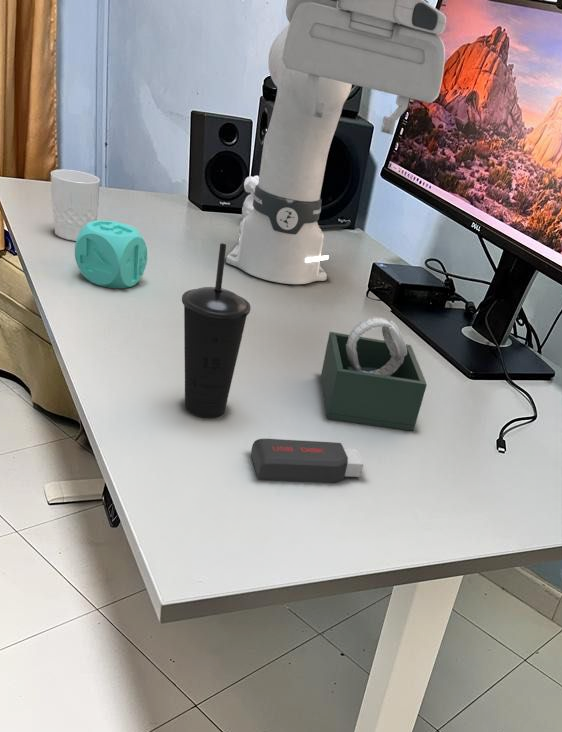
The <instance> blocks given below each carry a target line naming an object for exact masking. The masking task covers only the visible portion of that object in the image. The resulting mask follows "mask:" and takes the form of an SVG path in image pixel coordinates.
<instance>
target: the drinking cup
mask: <svg viewBox="0 0 562 732" xmlns="http://www.w3.org/2000/svg"><path fill="white" fill-rule="evenodd" d="M226 252H227V244H226V243H222V242H221V243H220V244H219V250H218V258H217V260H218V261H217V270H216V277H215V286H203V287H199V288H193V289H189V290H187V291H185V292H184V293H183V294H182V296H181V303H182V304H183V312H184V313H183V316H184V317H183V321H184V322H183V324H184V325H183V327H184V329H183V331H184V336H183V338H184V339H183V340H184V408H185V410H186V411H187V412H188V413H189V414H191V415H194V416H196V417H198V418H199V417H200V418H205V419H208V418H209V419H214V418H215V419H216V418H219V417H221V416H223V415H224V413H225V412H226V408H227V404H228V398H229V394H230V390H231V385H232V381H233V379H234V378H233V377H234V374H235V368H236V364H237V360H238V356H239V351H240V347H241V343H242V338H243V334H244V330H245V326H246V321H247V317H248V315H250V313H251V310H252V309H251V307H252V306H251V304H250V302H249V301H248V300H247V299H245V298H243V297H242V296H240V295H238V294H236V293H235V292H234V291H231V290H229V289H225V288H222V287H223V277H224V270H225V262H226V254H227V253H226Z"/></svg>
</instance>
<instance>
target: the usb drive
mask: <svg viewBox="0 0 562 732" xmlns="http://www.w3.org/2000/svg"><path fill="white" fill-rule="evenodd" d="M250 456H251V459H252V464H253V466H254V470H255V474H256V479H257V480H260V481H286V482H287V481H288V482H309V483H310V482H311V483H312V482H313V483H338V482H341V481H345V477H349V478H350V477H354V478H355V477H356V478H361V476H362V471H363V468H364V461H363V460H362V458H361V455H360V453H359V451H358V449H356V448H344V446H343V444H342V443H341V442H333V441H332V442H331V441H318V440H317V441H316V440H300V439H299V440H296V439H280V438H279V439H278V438H257V439H256V440H254V441H253V443H252V446H251V450H250Z"/></svg>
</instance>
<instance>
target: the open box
mask: <svg viewBox="0 0 562 732" xmlns="http://www.w3.org/2000/svg"><path fill="white" fill-rule="evenodd" d="M349 335H350V334H347V333H340V332H334V331H329V334H328V339H327V344H326V348H325V353H324V359H323V362H322V363H323V364H322V368H321V373H320V382H321V388H322V394H323V401H324V408H325V414H326V419H327V420H333V421H341V422H348V423H354V424H362V425H368V426H375V427H382V428H390V429H397V430H402V431H403V430H405V431H411V432H414V430H415V427H416V424H417V420H418V417H419V413H420V410H421V406H422V402H423V399H424V396H425V394H426V393H425V392H426V389H427V386H428V384H427V381H426V378H425V376H424V373H423V371H422V369H421V366H420V364H419V362H418V361H419V360H418V359H417V357H416V354H415V352H414V349H413V346H412V345H411V344H407V343H405V344H406V347H407V355H406V356H404V361H403V363H402V364H401V365H400V367H399V368H398V369H397V370H396V371H395V372H394V373H393V374H392V375H390V376H384V375H378V374H371V373H365V372H359V371H352V370H346V369H347V367H352V366H351V364H350V362H349V359H348V356H347V351H346V344H347V341H348V337H349ZM356 345H357V348H356V351H357V356H358V362H359V365H360V367H365V368H376V369H380V368H381V367H383V366H384V365H386V363H387V362H388V361H389V360H390V359H391V357H392V356H391V355H390V351H389V349H388V347H387V345H386V343H385V340H384V339H376V338H370V337H364V336H361V337H360V338H359V340H358V341H357V343H356ZM390 361H391V360H390Z"/></svg>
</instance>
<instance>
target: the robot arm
mask: <svg viewBox="0 0 562 732" xmlns="http://www.w3.org/2000/svg"><path fill="white" fill-rule="evenodd" d="M285 16H286V19H287V21H288V23H287V24H286V26H285V27H284V28H283V30H281V32H280V33H279V34H278V35H277V36H276V37H275V38H274V40H273V41H272V44H271V46H270V48H269V52H268V71H269V75H270V78H271V80H272V82H273V84H274V86H275V87H276V88H277V90H276V96H275V100H274V104H273V109H272V113H271V116H270V120H269V124H268V126H267V127H268V128H267V131H266V132H265V135H264V138H263V145H262V152H261V159H260V160H261V162H260V167H259V174H258V177H259V182H258V185H256V187H255V192H254V195H253V198H254V199H253V207H254V209H253V210H252V212H251V213H250V214H248V215H247V216H246V218H243V217H242V220H241V221H240V222H239V228H238V233H239V234H240V235H239V237H238V239H237V244H236V246H235V247H233V249H232V250H231V251H230V253H228V255H226V257H225V263H227V264H228V265H231V266H233V267H236V268H238V269H240V270H242V271H243V272H245V273H247V274H249V275H251V276H253V277H256V278H258V279H262V280H264V281H270V282H273V283H277V284H279V283H280V284H286V285H306V284H311V283H314V282H324V281H327V280H328V279H327V278H328V274H327V273H326V271H325V269H324V268H323V267H322V266H321V261H327V260H329V257H330V256H329V255H328V254H327V255H322V252H323V245H324V238H325V234H324V233H323V231H322V230H336V229H337V230H338V229H347V228H349V227H350V226H351V220H350V221H347V220H346V219H345V217H344V216H341V215H340V217H341V218H340V219H342V218H343V219H345V221H346V223H343V224H326V225H319V223H318V221H319V220H320V214H321V212H322V200H323V199H322V198H321V193H322V188H323V183H324V179H325V177H324V176H325V172H326V166H327V161H328V155H329V152H330V148H331V144H332V141H333V138H334V136H335V134H336V133H335V132H336V130H337V127H338V125H339V121H340V117H341V115H342V111H343V109H344V105H345V102H346V101H347V99H348V98H349V96H350V93H351V90H352V88H353V86H358V87H362V88H366V89H370V90H374V91H378V92H382V93H387V94H389V95H390V94H391V95H395V96H396V99H395V104H396V105H397V108H396V109H394V111H393V112H392V114H391V115H390V116H385V115H383V119H382V123H383V124H381V128H380V132H381V133H384V134H387V135H391V136H392V135H393V134H394V132H395V126H396V123H397V121H398V120H399V119H400V118H401V116H402V115H403V114H404V113H405V112H406V111H407V109H408V108H409V103H410V99H411V100H415V101H419V102H424V103H427V104H431V103H433V102H434V101H435V100H436V99H438V97H439V95H440V91H441V88H442V83H443V77H444V71H445V61H446V48H445V43H444V41H443V39H442V38H441V37H440V36H439V35H441V34H443V32H444V31H445V29H446V25H447V16H446V15H445V14H444V13H443V12H442V11H440V10H439V9H437V8H436V7H435V6H433V5H432V4H431V3H430V2H429V1H428V0H286V8H285Z"/></svg>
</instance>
